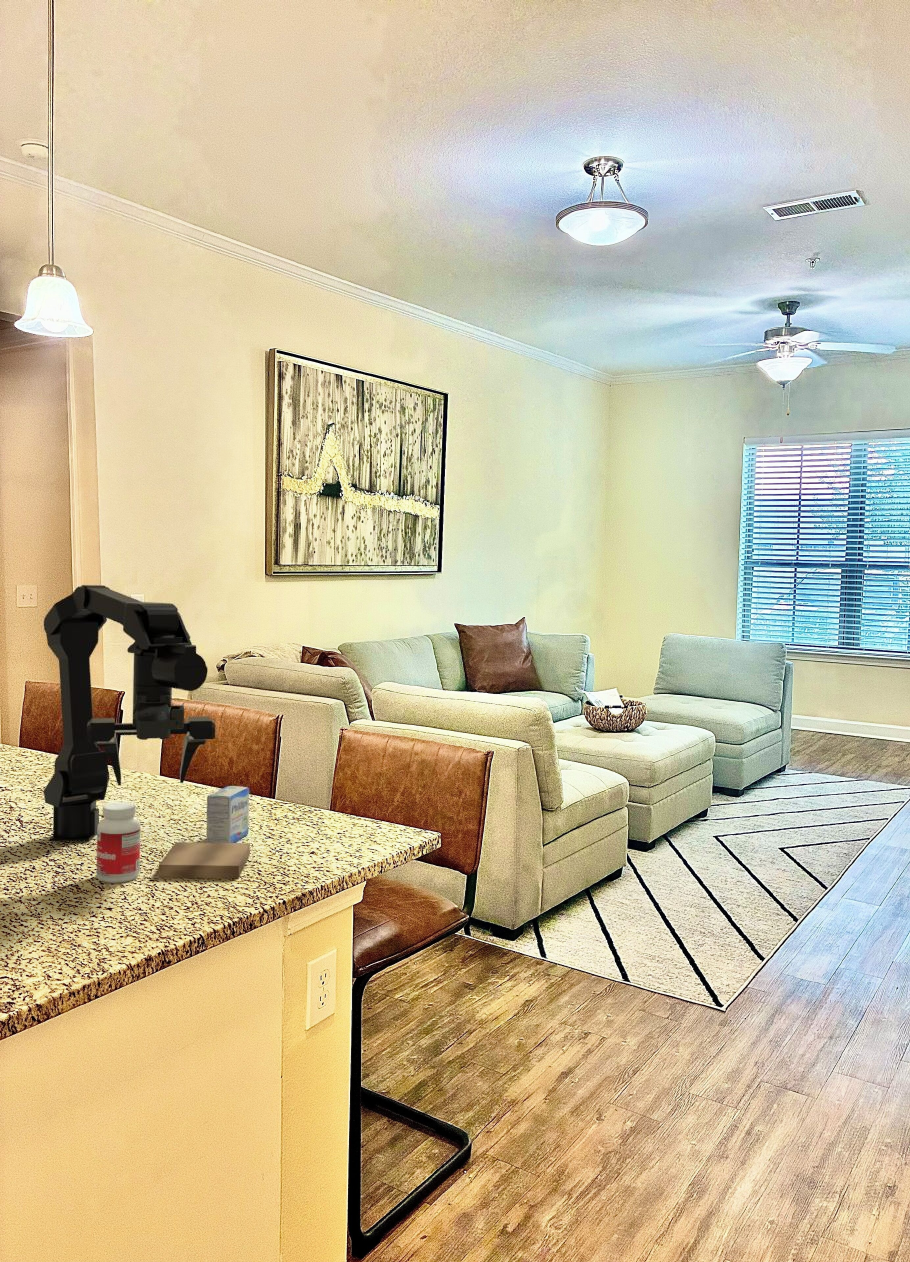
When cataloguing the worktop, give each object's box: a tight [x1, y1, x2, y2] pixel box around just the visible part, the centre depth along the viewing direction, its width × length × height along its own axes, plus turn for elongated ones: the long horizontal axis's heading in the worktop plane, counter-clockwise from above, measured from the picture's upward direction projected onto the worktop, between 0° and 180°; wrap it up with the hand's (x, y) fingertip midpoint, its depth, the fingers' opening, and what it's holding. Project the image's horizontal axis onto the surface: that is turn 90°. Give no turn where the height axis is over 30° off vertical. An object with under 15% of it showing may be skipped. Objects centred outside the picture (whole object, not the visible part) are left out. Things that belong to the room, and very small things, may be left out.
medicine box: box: [206, 785, 250, 843], centre depth 165 cm, size 8×4×9 cm, turn 168°
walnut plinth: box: [158, 841, 251, 880], centre depth 150 cm, size 12×12×2 cm
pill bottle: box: [96, 801, 141, 884], centre depth 143 cm, size 6×6×11 cm
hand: (150, 783), depth 147 cm, fingers open, 9 cm apart
